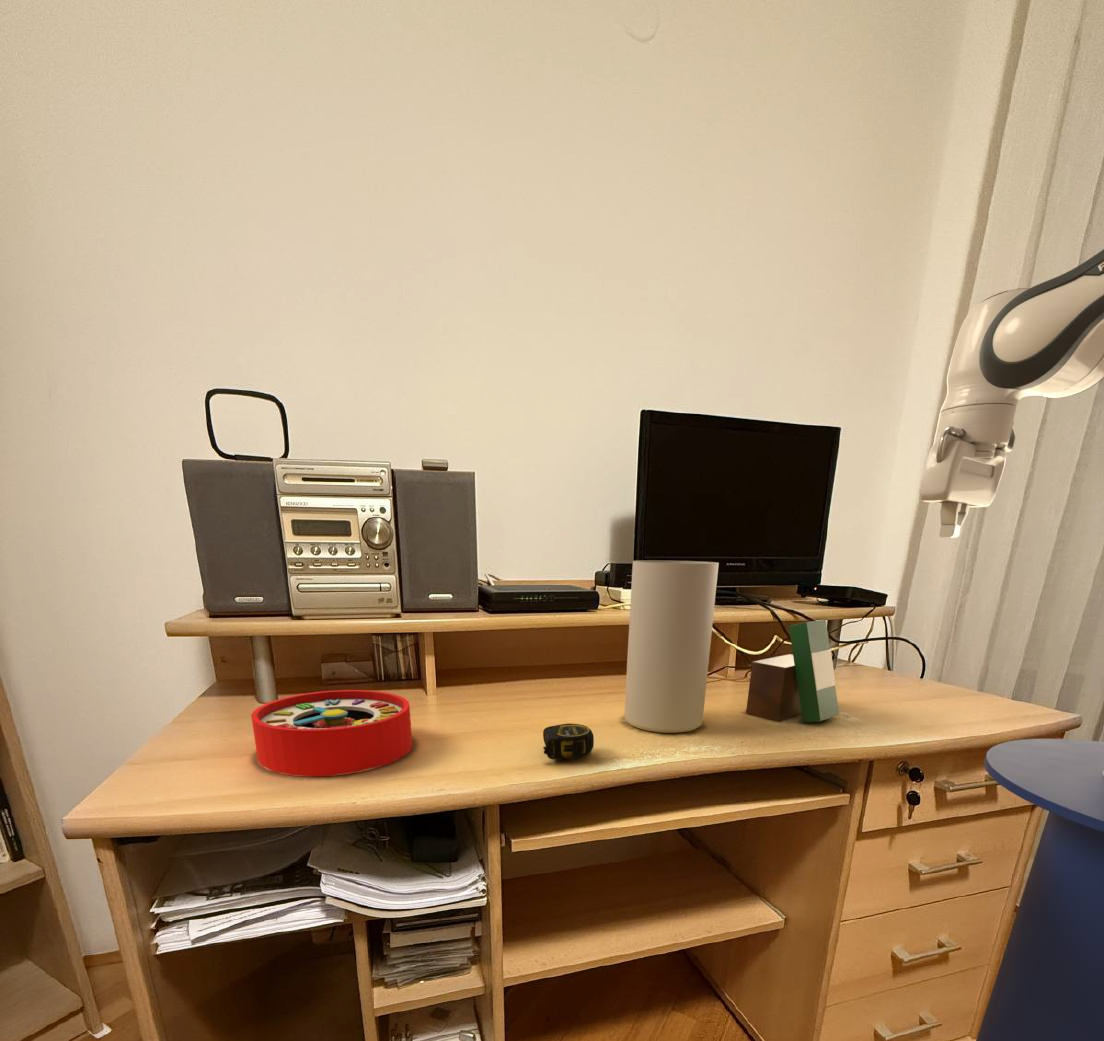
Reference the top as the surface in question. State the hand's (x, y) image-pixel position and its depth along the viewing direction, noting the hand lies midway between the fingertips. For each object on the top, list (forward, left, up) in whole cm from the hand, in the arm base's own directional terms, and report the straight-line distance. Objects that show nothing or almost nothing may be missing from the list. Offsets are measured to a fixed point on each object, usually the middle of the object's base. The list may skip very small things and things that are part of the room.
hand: (948, 537), depth 86 cm
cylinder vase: (+25, +32, -29) cm, 50 cm away
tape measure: (+23, +55, -29) cm, 66 cm away
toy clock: (+44, +78, -29) cm, 94 cm away
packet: (+12, +10, -21) cm, 26 cm away
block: (+17, +10, -29) cm, 35 cm away
